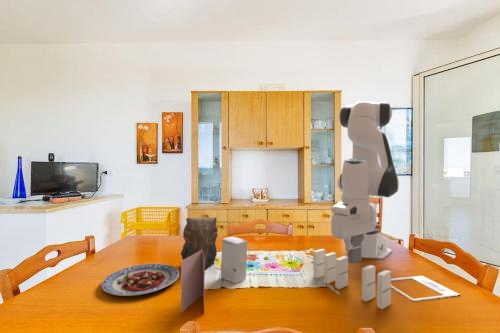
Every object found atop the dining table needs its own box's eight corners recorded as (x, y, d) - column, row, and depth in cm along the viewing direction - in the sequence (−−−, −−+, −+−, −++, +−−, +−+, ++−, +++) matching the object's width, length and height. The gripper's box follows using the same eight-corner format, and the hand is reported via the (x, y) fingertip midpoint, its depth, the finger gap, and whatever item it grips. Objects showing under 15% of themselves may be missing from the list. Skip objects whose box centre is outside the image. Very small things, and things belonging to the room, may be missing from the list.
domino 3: (335, 287, 91) (335, 258, 91) (343, 283, 94) (344, 255, 94) (339, 289, 90) (339, 260, 90) (348, 285, 93) (348, 257, 93)
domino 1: (313, 277, 99) (313, 250, 99) (321, 273, 102) (321, 248, 102) (316, 278, 98) (316, 252, 98) (325, 275, 101) (325, 249, 101)
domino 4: (347, 262, 87) (348, 232, 87) (356, 259, 90) (357, 230, 90) (352, 263, 85) (352, 233, 85) (361, 260, 88) (361, 231, 88)
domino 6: (376, 306, 79) (377, 273, 79) (385, 301, 82) (385, 269, 82) (382, 309, 77) (382, 275, 77) (390, 304, 80) (391, 271, 80)
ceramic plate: (192, 273, 102) (192, 266, 102) (146, 308, 78) (146, 298, 78) (139, 265, 111) (139, 258, 111) (83, 293, 87) (83, 284, 86)
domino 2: (323, 281, 95) (323, 254, 95) (332, 278, 98) (332, 252, 98) (327, 283, 94) (327, 256, 94) (336, 280, 97) (336, 253, 97)
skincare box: (220, 277, 98) (220, 238, 98) (231, 272, 103) (231, 235, 103) (236, 284, 93) (236, 243, 93) (247, 278, 98) (247, 239, 97)
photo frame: (460, 293, 85) (413, 299, 82) (460, 297, 85) (413, 303, 82) (422, 275, 100) (380, 279, 96) (422, 278, 100) (380, 282, 96)
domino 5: (361, 299, 83) (361, 268, 83) (370, 295, 86) (370, 264, 86) (366, 301, 82) (366, 270, 81) (375, 297, 84) (375, 266, 84)
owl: (179, 265, 110) (179, 218, 110) (201, 257, 120) (201, 213, 120) (200, 273, 102) (200, 222, 102) (222, 263, 113) (222, 217, 113)
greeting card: (200, 293, 86) (200, 248, 86) (220, 298, 83) (220, 251, 83) (178, 312, 76) (178, 260, 75) (200, 317, 73) (200, 264, 73)
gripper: (363, 203, 96) (363, 240, 96) (327, 207, 84) (327, 250, 84) (380, 205, 91) (380, 244, 91) (344, 210, 79) (344, 256, 79)
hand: (354, 247), depth 88 cm, fingers closed on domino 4, 5 cm apart
